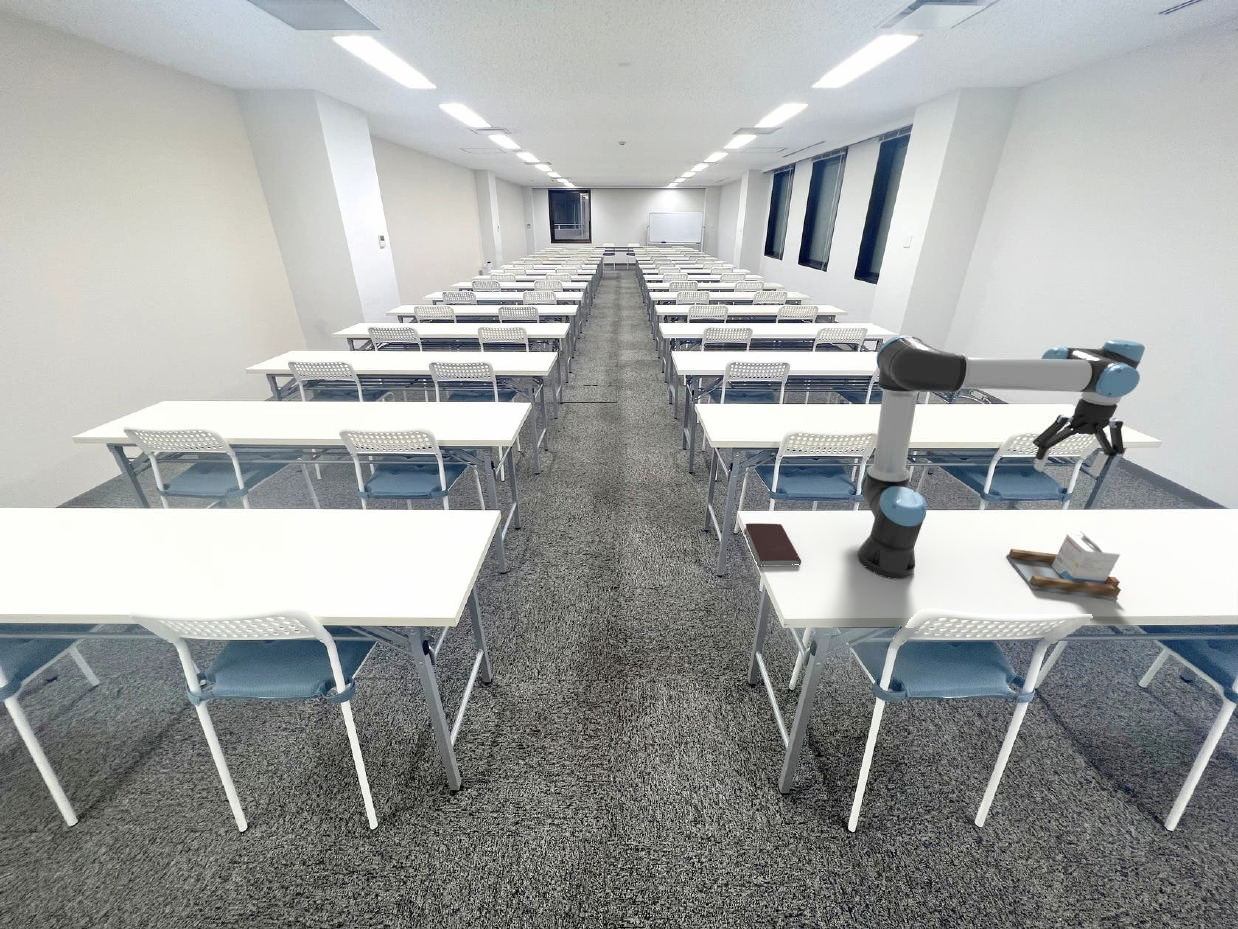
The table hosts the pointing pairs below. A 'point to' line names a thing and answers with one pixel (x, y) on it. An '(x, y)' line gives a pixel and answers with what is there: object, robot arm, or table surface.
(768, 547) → the book
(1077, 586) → the rail board
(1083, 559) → the ink box
